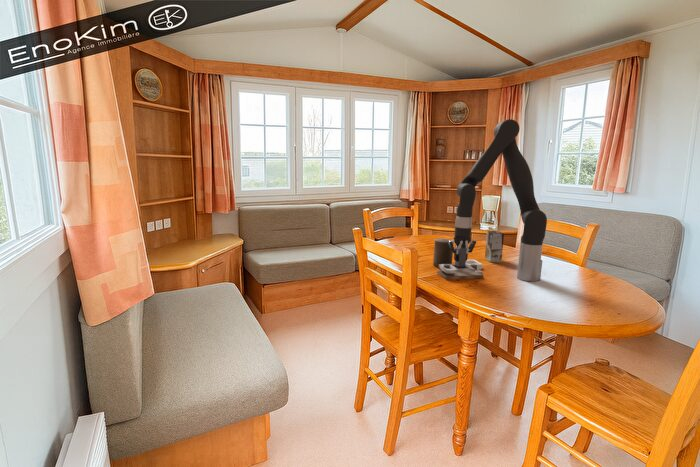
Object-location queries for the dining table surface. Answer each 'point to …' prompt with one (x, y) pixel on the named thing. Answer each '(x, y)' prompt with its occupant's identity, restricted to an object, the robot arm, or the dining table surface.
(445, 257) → the pillar candle
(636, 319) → the dining table surface
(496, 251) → the coffee box
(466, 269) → the grey slotted fixture
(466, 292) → the dining table surface
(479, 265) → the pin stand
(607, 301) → the dining table surface
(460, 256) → the steel pin
